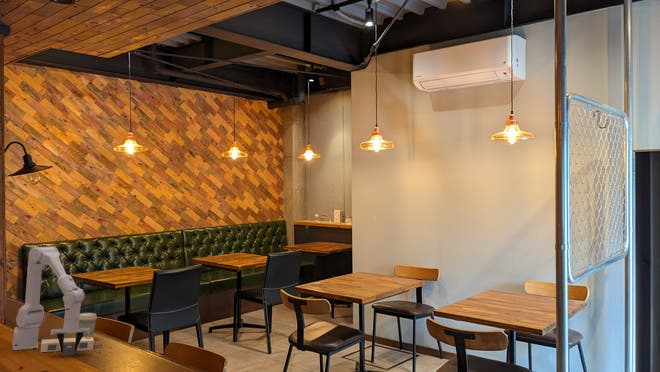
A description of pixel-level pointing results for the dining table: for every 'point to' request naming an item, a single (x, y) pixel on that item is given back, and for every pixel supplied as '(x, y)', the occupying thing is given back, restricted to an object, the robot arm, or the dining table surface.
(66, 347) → the charger
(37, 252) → the robot arm
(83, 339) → the power strip
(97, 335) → the dining table surface
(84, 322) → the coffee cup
